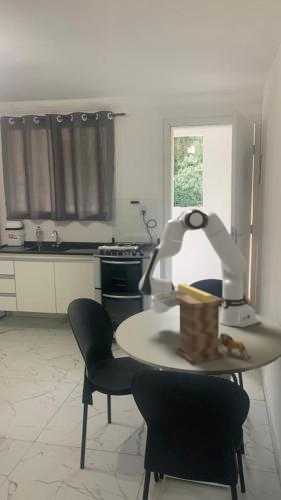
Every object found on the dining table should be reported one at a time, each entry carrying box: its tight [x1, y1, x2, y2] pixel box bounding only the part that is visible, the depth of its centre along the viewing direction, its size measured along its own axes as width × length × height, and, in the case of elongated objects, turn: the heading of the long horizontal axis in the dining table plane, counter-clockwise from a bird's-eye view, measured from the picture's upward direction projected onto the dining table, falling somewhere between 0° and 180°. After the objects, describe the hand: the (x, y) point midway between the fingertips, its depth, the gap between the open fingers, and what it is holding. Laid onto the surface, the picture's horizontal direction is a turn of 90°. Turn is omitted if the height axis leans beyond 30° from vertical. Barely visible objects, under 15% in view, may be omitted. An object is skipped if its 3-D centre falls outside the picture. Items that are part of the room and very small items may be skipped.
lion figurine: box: [218, 332, 252, 361], centre depth 172 cm, size 15×5×9 cm, turn 52°
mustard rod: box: [177, 283, 213, 303], centre depth 174 cm, size 3×24×3 cm, turn 23°
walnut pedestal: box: [174, 292, 224, 365], centre depth 172 cm, size 16×14×26 cm
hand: (179, 291), depth 186 cm, fingers open, 8 cm apart
